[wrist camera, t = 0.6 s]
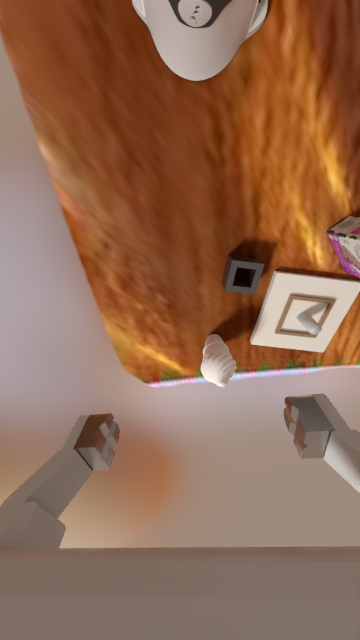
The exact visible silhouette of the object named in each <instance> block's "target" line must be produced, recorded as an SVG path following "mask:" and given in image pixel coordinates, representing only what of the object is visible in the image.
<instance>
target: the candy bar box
mask: <svg viewBox="0 0 360 640" xmlns="http://www.w3.org/2000/svg"><path fill="white" fill-rule="evenodd" d="M326 233H327V235H328V237H329V239H330V241H331V243H332V245H333V248H334V250H335V252H336V254H337V256H338V259H339V261H340V263H341V265H342V268H343V270H344V271H345V272H347V273H349V274H351V275H353V276H355V277H357V278H360V217H355V216H348V217H347V218H345V219H344V220H342V221H341V222H339V223H338V224H336V225H335V226H333V227H332V228H330V229H329V230H327V231H326Z"/></svg>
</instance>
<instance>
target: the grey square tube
mask: <svg viewBox="0 0 360 640" xmlns="http://www.w3.org/2000/svg"><path fill="white" fill-rule="evenodd" d="M237 267H239V268H247V269H248V272H247V276H246V279H245V280H240V279H234V277H235V273H236V269H237ZM263 267H264V263H263V262H261V261H260V260H259V259H258V258H252V257H244V256H236V255H228V257H227V262H226V266H225V271H224V275H223V280H222V284H223V287H224V289H225V291H232V292H241V293H249V294H255V292H256V289H257V286H258V283H259V280H260V277H261V274H262V270H263Z"/></svg>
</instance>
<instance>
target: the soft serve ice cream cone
mask: <svg viewBox="0 0 360 640" xmlns="http://www.w3.org/2000/svg"><path fill="white" fill-rule="evenodd" d="M235 364H236V361H235V360H233V357H232V356H231V354H230V353H229V349H228V347H227V346H226V345H225V343H224V342H223V340H222V339H221V337H220V336H219V335H217V334H211V335H209V336H208V337H207V338H206V342H205V347H204V350H203V361H202V364H201V372H202V374H203V376H204V377H205V379H207V380H208V381H210V382H213V383H215V384H217V385H218V386H221V387H225V386H226V385H227V383H228V382H229V379H231V378H232V376H233V375H234V374H235V370H236V369H237V366H236V365H235Z"/></svg>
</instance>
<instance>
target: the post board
mask: <svg viewBox="0 0 360 640" xmlns="http://www.w3.org/2000/svg"><path fill="white" fill-rule="evenodd" d="M359 291H360V281H356V280H347V279H339V278H331V277H323V276H314V275H306V274H298V273H289V272H281V271H274V274H273V277H272V279H271V282H270V285H269V288H268V291H267V294H266V297H265V300H264V302H263V305H262V308H261V311H260V314H259V317H258V320H257V322H256V325H255V328H254V331H253V334H252V337H251V340H250V342H251V344H253V345H262V346H271V347H280V348H289V349H298V350H307V351H316V352H324V350H325V349H326V347H327V345H328V344H329V342H330V340H331V338H332V337H333V335H334V333H335V332H336V330H337V328H338V327H339V325H340V323H341V322H342V320H343V318H344V316H345V315H346V313H347V311H348V310H349V308H350V306H351V305H352V303H353V301H354V300H355V298H356V296H357V294H358V293H359Z"/></svg>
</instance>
